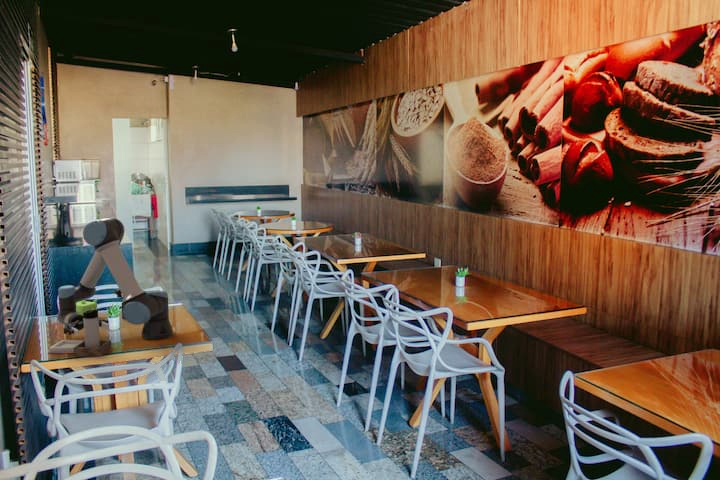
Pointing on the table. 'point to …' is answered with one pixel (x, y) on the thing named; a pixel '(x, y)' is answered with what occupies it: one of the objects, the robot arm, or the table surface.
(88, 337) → the travel mug
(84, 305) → the green rounded cube block
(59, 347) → the tray
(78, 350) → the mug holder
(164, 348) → the table surface
